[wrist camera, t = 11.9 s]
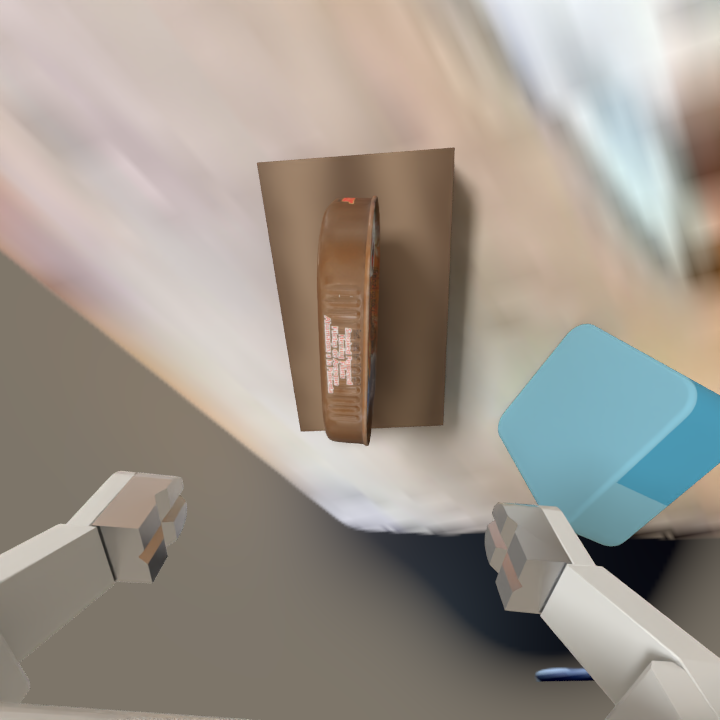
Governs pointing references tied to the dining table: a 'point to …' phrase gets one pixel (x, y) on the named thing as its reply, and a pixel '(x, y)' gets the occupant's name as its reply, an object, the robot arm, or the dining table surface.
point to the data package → (610, 434)
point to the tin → (348, 316)
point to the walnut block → (396, 280)
